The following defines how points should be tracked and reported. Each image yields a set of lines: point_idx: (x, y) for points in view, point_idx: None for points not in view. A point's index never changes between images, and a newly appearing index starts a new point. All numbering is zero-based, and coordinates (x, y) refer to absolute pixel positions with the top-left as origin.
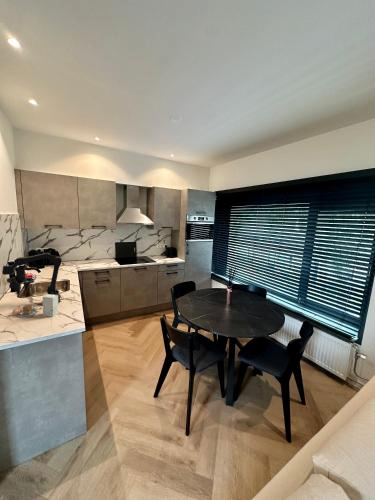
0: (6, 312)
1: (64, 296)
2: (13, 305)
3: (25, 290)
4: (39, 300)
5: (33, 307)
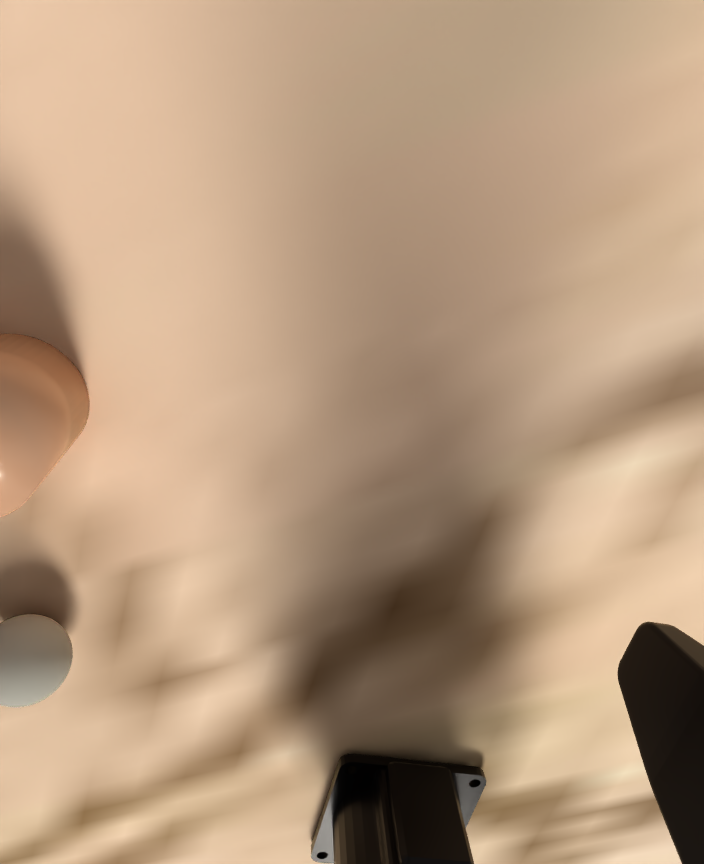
0: (6, 27)
1: (669, 845)
2: (539, 14)
3: (651, 635)
4: (650, 535)
5: (5, 671)
